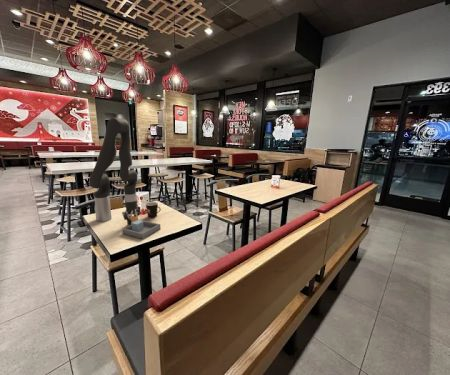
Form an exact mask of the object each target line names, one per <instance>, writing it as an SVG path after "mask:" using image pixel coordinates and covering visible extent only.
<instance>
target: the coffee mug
mask: <svg viewBox="0 0 450 375" xmlns="http://www.w3.org/2000/svg"><path fill="white" fill-rule="evenodd" d="M158 205H159V203H158V202H157V201H155V202H154V201H149V202H147V203H145V208H146V213H147V214H146V215H147V218H150V219H155V218H156V217H158V213H160V211H161V210H162V209H161V207H160V206H158ZM158 209H159V210H158Z"/></svg>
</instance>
